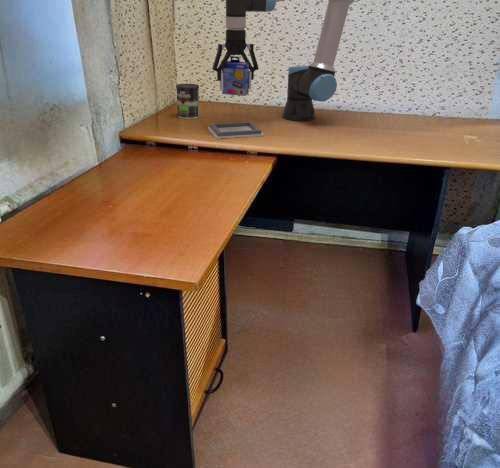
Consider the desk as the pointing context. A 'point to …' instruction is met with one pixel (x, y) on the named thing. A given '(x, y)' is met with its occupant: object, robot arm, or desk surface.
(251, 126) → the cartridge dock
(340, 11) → the robot arm
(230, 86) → the ink cartridge box
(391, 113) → the desk surface
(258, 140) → the desk surface
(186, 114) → the coffee can
